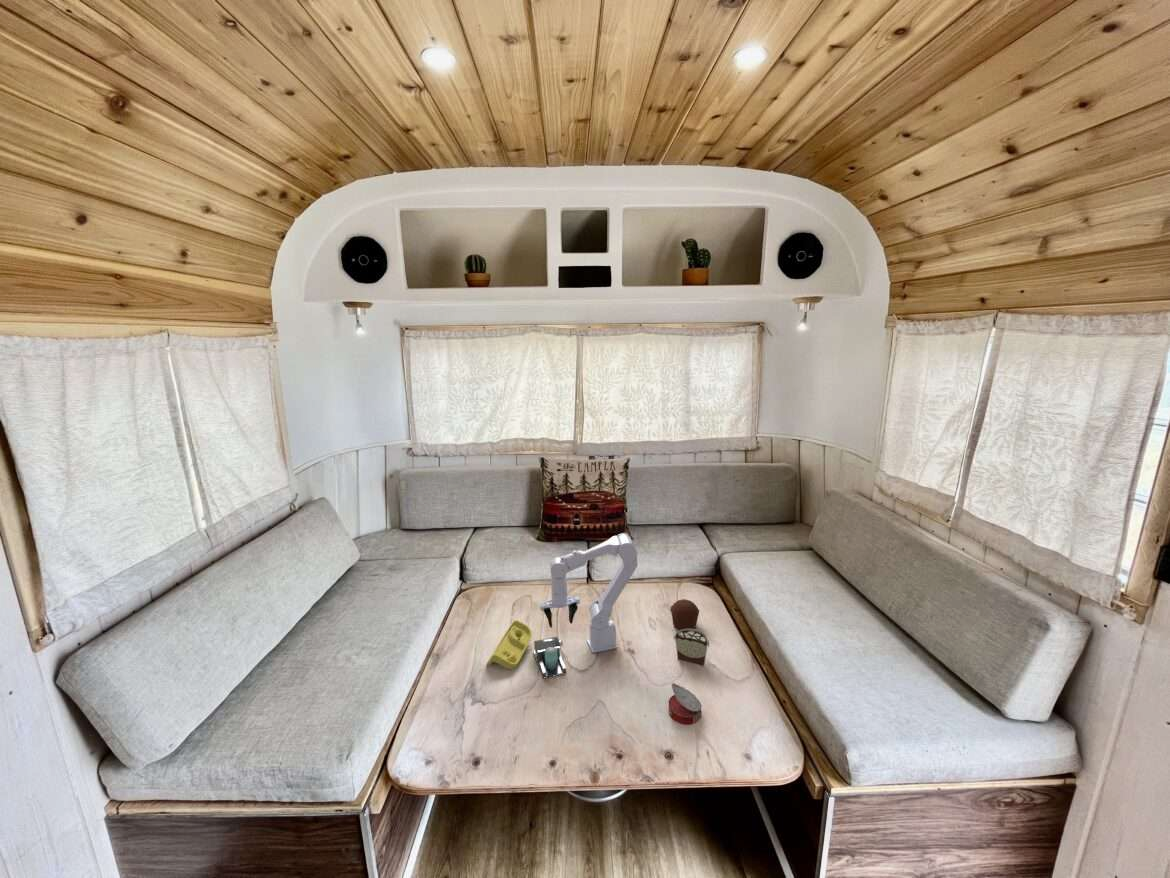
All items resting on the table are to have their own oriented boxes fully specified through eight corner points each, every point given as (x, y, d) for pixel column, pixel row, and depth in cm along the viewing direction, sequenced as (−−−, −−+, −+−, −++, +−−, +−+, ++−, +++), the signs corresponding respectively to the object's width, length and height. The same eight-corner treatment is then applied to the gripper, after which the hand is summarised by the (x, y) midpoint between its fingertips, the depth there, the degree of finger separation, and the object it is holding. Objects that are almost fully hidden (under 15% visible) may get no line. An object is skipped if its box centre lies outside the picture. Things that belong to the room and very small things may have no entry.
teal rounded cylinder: (557, 661, 173) (556, 644, 172) (558, 669, 169) (557, 652, 167) (545, 662, 173) (544, 645, 171) (545, 670, 168) (544, 653, 167)
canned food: (676, 713, 154) (681, 680, 157) (705, 725, 148) (709, 690, 150) (658, 717, 146) (663, 682, 149) (688, 730, 140) (693, 693, 142)
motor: (560, 646, 182) (559, 631, 181) (571, 672, 168) (570, 656, 167) (533, 651, 179) (532, 637, 178) (541, 678, 165) (541, 663, 164)
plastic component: (516, 666, 168) (491, 652, 169) (509, 681, 171) (484, 667, 172) (535, 629, 187) (512, 617, 188) (529, 643, 189) (506, 631, 190)
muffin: (696, 636, 186) (697, 612, 184) (668, 631, 190) (668, 608, 188) (700, 619, 197) (700, 596, 195) (672, 615, 201) (673, 593, 199)
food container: (711, 657, 174) (712, 632, 172) (708, 667, 168) (709, 642, 166) (677, 648, 179) (678, 624, 177) (673, 658, 173) (673, 633, 171)
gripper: (575, 582, 182) (576, 614, 185) (537, 588, 178) (539, 622, 181) (580, 591, 176) (581, 624, 178) (541, 598, 171) (543, 632, 174)
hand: (560, 624), depth 179 cm, fingers open, 7 cm apart
